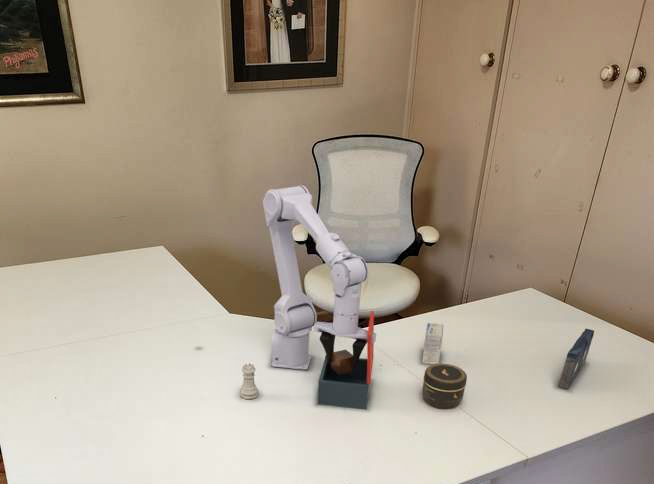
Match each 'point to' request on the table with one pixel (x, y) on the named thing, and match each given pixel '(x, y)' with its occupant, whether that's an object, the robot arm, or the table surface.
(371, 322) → the lid
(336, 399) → the dark grey open box
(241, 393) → the rook chess piece
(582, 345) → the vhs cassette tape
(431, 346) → the medicine box
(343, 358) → the block
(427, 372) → the jar
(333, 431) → the table surface
